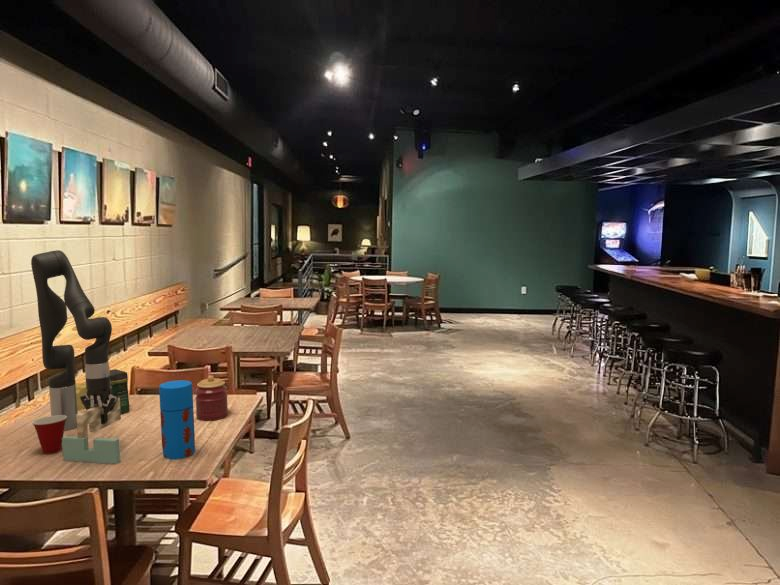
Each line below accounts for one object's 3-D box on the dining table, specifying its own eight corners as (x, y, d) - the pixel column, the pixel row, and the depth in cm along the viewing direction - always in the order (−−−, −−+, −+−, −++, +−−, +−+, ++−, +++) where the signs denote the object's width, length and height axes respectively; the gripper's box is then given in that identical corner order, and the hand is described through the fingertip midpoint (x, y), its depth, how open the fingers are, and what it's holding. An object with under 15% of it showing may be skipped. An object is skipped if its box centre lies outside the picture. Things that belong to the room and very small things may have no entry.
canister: (222, 421, 234) (221, 379, 232) (191, 421, 234) (189, 379, 232) (232, 411, 247) (230, 371, 245) (202, 411, 247) (200, 371, 245)
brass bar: (83, 438, 189) (81, 414, 188) (77, 438, 189) (76, 414, 188) (120, 419, 208) (119, 397, 207) (115, 418, 209) (114, 397, 208)
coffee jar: (132, 411, 247) (130, 370, 245) (114, 416, 241) (111, 373, 238) (121, 407, 253) (119, 366, 251) (103, 412, 247) (101, 370, 244)
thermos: (157, 453, 200) (153, 384, 198) (185, 445, 208) (182, 378, 205) (171, 462, 193) (168, 390, 190) (200, 453, 201) (197, 384, 198)
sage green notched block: (63, 460, 195) (61, 437, 194) (67, 458, 197) (66, 435, 196) (116, 463, 192) (115, 441, 191) (120, 461, 194) (118, 438, 193)
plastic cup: (65, 442, 211) (63, 411, 210) (72, 450, 203) (70, 418, 202) (31, 450, 204) (28, 417, 203) (37, 459, 196) (34, 425, 195)
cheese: (76, 410, 249) (74, 388, 248) (69, 405, 257) (68, 383, 255) (101, 405, 256) (100, 384, 254) (94, 400, 264) (93, 379, 262)
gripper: (72, 377, 194) (75, 426, 196) (108, 378, 192) (111, 428, 194) (87, 371, 202) (90, 419, 204) (122, 373, 199) (125, 421, 201)
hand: (100, 423), depth 199 cm, fingers closed on brass bar, 2 cm apart
